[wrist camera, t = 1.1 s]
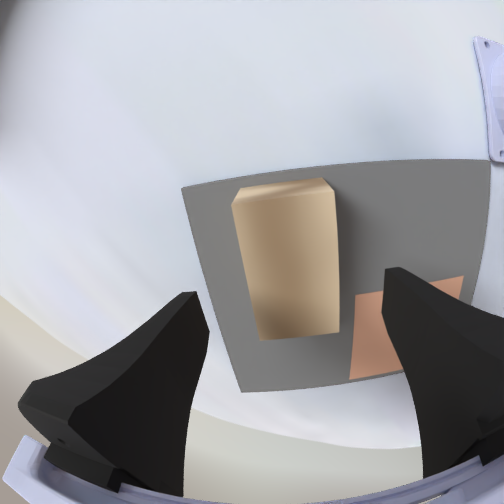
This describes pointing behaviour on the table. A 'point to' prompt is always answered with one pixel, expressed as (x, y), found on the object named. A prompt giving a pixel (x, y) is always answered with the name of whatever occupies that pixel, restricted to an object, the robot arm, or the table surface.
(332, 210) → the card box
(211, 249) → the mat
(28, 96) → the table surface
